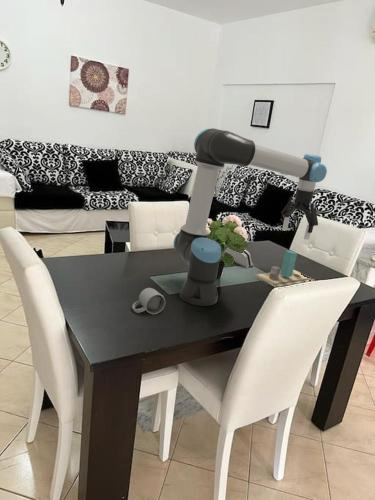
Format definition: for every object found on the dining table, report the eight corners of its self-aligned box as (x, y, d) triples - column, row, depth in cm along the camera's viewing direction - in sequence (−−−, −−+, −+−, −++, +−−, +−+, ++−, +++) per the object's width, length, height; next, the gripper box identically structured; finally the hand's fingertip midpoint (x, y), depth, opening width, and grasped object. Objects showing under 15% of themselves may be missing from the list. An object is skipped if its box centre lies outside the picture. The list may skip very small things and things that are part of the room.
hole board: (274, 289, 175) (277, 274, 173) (253, 277, 186) (256, 263, 184) (315, 282, 191) (318, 268, 188) (293, 271, 201) (296, 258, 199)
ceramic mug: (154, 302, 146) (156, 284, 144) (164, 313, 139) (166, 293, 137) (128, 306, 141) (129, 287, 138) (137, 317, 134) (139, 297, 132)
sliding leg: (285, 278, 185) (291, 253, 181) (279, 275, 188) (285, 250, 184) (291, 277, 187) (297, 253, 183) (285, 274, 190) (291, 250, 186)
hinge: (254, 266, 200) (253, 250, 195) (247, 270, 198) (246, 254, 193) (230, 255, 212) (229, 240, 207) (224, 259, 209) (223, 243, 204)
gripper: (333, 196, 167) (321, 242, 174) (290, 184, 186) (281, 226, 193) (322, 195, 163) (310, 243, 169) (279, 183, 182) (270, 227, 189)
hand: (295, 234), depth 181 cm, fingers open, 13 cm apart
